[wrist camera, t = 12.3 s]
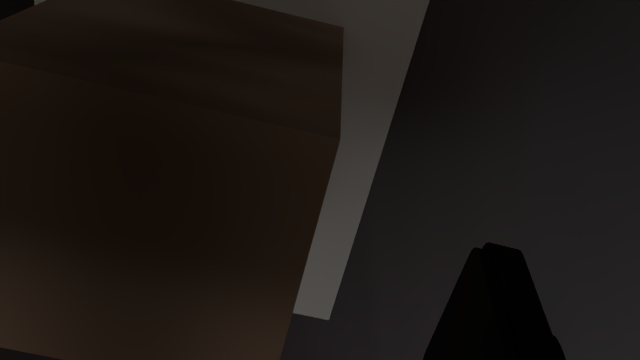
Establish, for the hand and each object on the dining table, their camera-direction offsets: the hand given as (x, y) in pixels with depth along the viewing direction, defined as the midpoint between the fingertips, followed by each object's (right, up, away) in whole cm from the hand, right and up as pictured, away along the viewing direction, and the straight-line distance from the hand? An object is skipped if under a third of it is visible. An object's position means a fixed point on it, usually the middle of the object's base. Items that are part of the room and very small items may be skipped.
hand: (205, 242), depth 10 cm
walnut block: (-1, +3, +6) cm, 7 cm away
